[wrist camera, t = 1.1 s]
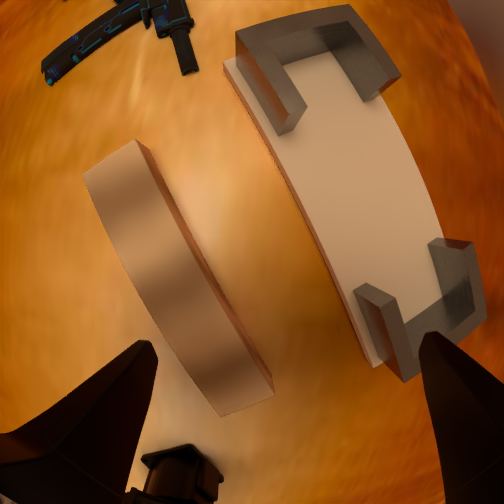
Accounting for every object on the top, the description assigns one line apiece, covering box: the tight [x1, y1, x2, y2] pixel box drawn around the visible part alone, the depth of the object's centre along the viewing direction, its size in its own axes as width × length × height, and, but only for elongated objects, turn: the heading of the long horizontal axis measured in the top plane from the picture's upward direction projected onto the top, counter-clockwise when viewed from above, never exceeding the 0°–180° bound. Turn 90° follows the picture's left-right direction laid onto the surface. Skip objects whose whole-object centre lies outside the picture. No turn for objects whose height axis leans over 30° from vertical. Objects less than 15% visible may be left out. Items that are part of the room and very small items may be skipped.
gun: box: [41, 0, 199, 85], centre depth 17 cm, size 24×3×15 cm
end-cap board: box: [223, 51, 444, 368], centre depth 20 cm, size 26×10×2 cm, turn 27°
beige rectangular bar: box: [82, 139, 275, 417], centre depth 20 cm, size 20×4×4 cm, turn 28°
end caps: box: [235, 4, 487, 383], centre depth 17 cm, size 25×9×4 cm, turn 27°
